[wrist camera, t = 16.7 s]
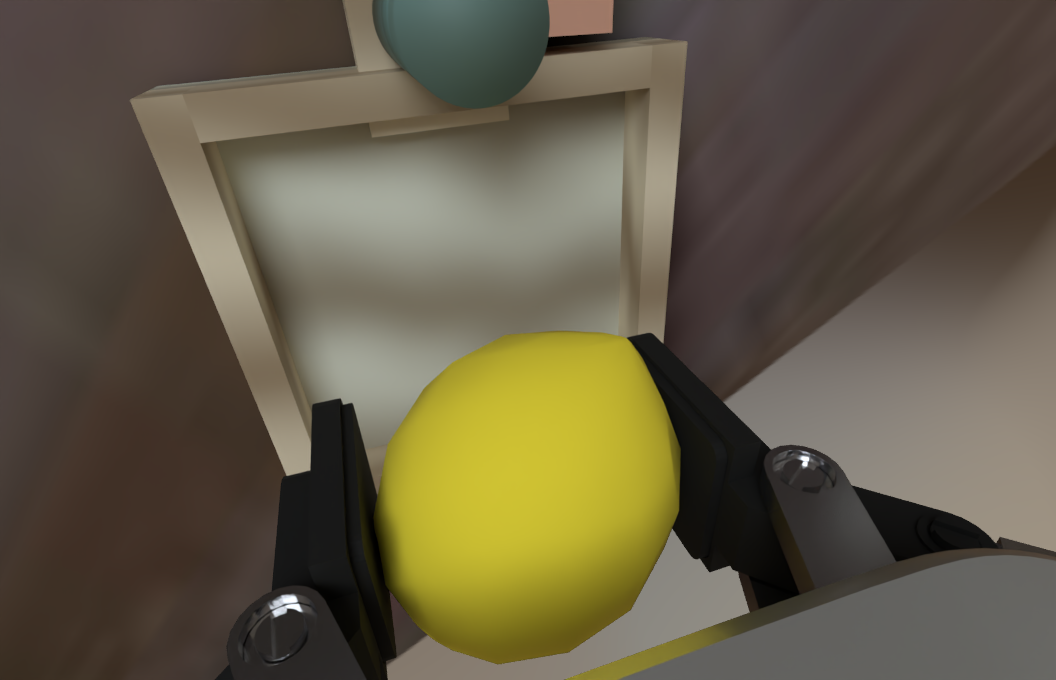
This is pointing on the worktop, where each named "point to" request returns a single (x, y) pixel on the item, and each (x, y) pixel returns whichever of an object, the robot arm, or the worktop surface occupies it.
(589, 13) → the pink rectangular block
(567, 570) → the lemon
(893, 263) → the worktop surface
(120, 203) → the worktop surface
